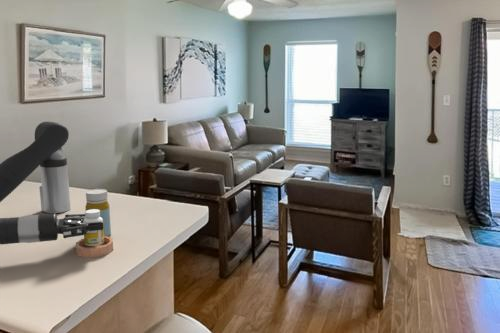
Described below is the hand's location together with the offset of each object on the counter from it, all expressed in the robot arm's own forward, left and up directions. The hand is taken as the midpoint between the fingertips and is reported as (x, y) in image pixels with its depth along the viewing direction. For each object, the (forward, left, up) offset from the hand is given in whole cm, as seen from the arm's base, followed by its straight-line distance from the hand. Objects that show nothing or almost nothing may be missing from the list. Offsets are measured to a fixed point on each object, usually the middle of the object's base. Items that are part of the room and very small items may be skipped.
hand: (102, 222), depth 126 cm
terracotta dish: (-2, -1, -8) cm, 9 cm away
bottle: (-6, +9, -8) cm, 13 cm away
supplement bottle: (-2, -1, -6) cm, 7 cm away
